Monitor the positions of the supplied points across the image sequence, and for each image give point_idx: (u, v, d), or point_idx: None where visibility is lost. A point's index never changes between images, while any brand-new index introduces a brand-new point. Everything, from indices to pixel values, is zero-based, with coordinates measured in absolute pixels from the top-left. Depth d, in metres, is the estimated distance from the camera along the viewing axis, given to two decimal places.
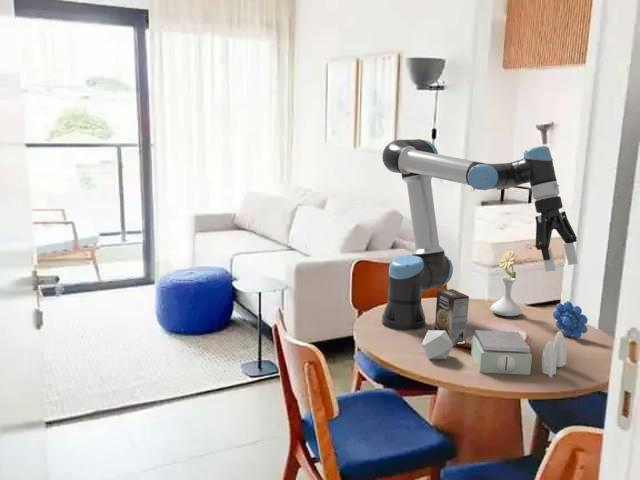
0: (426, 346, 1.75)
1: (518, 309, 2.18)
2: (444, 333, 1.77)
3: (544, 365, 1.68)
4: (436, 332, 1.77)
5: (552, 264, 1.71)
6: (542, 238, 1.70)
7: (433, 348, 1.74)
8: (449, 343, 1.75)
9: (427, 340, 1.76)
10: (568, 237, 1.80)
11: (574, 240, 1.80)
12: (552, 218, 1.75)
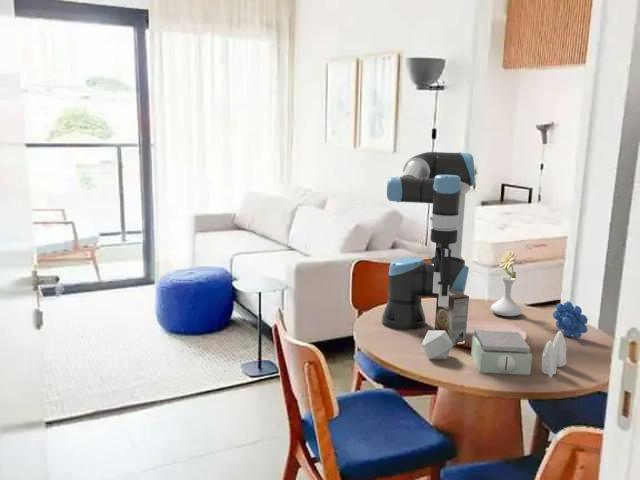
0: (426, 346, 1.75)
1: (518, 309, 2.18)
2: (444, 333, 1.77)
3: (544, 365, 1.68)
4: (437, 332, 1.77)
5: None
6: None
7: (433, 348, 1.74)
8: (449, 343, 1.75)
9: (427, 340, 1.76)
10: None
11: None
12: None
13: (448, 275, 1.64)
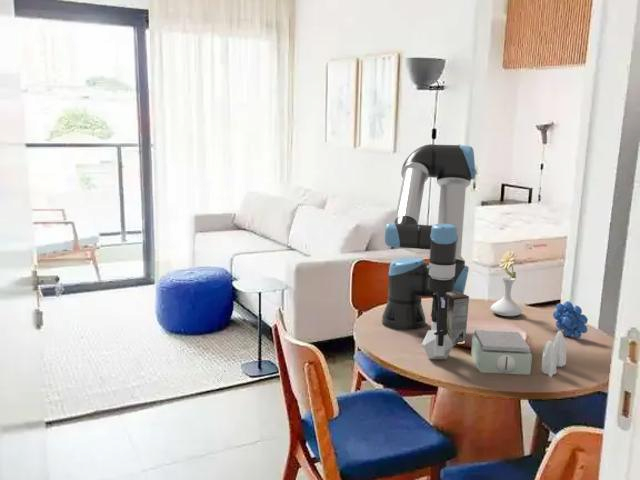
0: (426, 346, 1.75)
1: (518, 309, 2.18)
2: None
3: (544, 365, 1.68)
4: None
5: None
6: None
7: (433, 348, 1.74)
8: (449, 343, 1.75)
9: (427, 340, 1.76)
10: None
11: None
12: None
13: (444, 327, 1.69)
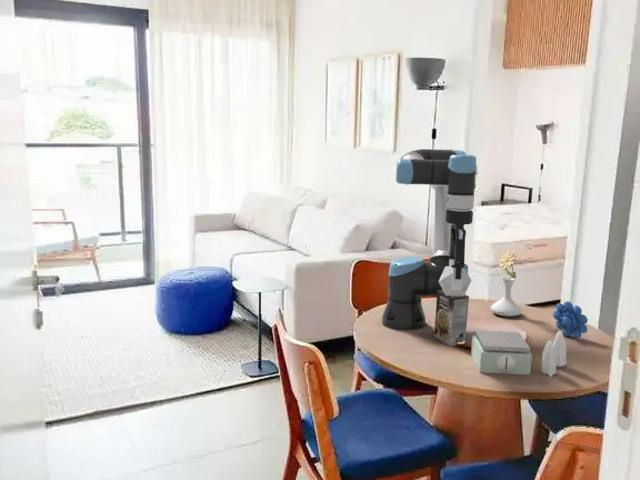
0: (443, 281, 1.70)
1: (518, 309, 2.18)
2: None
3: (544, 365, 1.68)
4: None
5: None
6: None
7: (450, 283, 1.69)
8: (467, 278, 1.70)
9: (444, 275, 1.71)
10: None
11: None
12: None
13: (462, 258, 1.63)
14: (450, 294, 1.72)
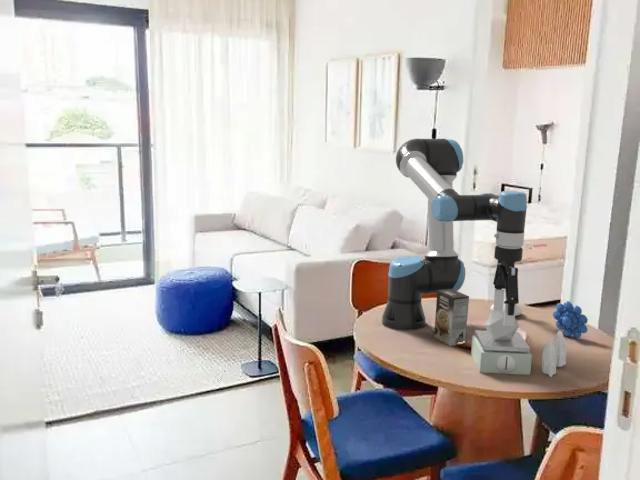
0: (491, 326, 1.70)
1: (518, 309, 2.18)
2: None
3: (544, 365, 1.68)
4: (501, 313, 1.71)
5: None
6: None
7: (499, 329, 1.69)
8: (515, 323, 1.70)
9: (492, 320, 1.71)
10: None
11: None
12: None
13: (515, 294, 1.61)
14: (498, 339, 1.71)
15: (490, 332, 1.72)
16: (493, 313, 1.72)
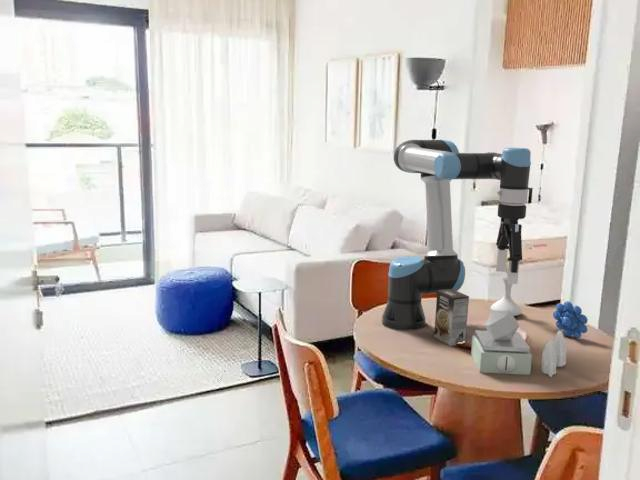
0: (491, 326, 1.70)
1: (518, 309, 2.18)
2: (509, 313, 1.72)
3: (544, 365, 1.68)
4: (502, 313, 1.71)
5: None
6: None
7: (499, 329, 1.69)
8: (515, 323, 1.70)
9: (492, 320, 1.71)
10: None
11: None
12: None
13: (519, 251, 1.59)
14: (498, 339, 1.71)
15: (490, 332, 1.72)
16: (493, 313, 1.72)
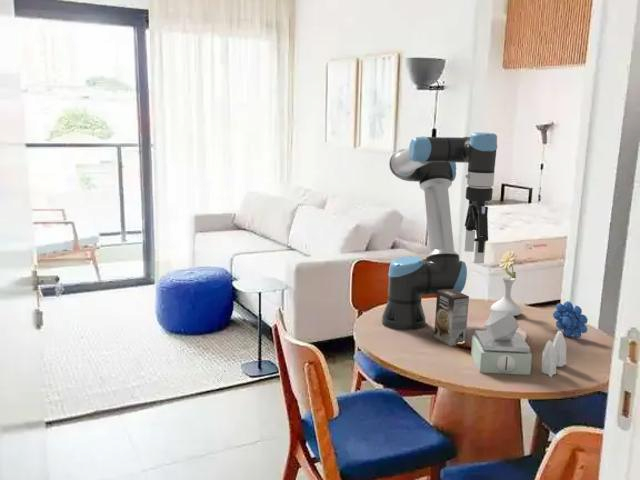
0: (491, 326, 1.70)
1: (518, 309, 2.18)
2: (509, 313, 1.72)
3: (544, 365, 1.68)
4: (501, 313, 1.71)
5: None
6: None
7: (499, 329, 1.69)
8: (515, 323, 1.70)
9: (492, 320, 1.71)
10: None
11: None
12: None
13: (485, 232, 1.66)
14: (498, 339, 1.71)
15: (490, 332, 1.72)
16: (493, 313, 1.72)
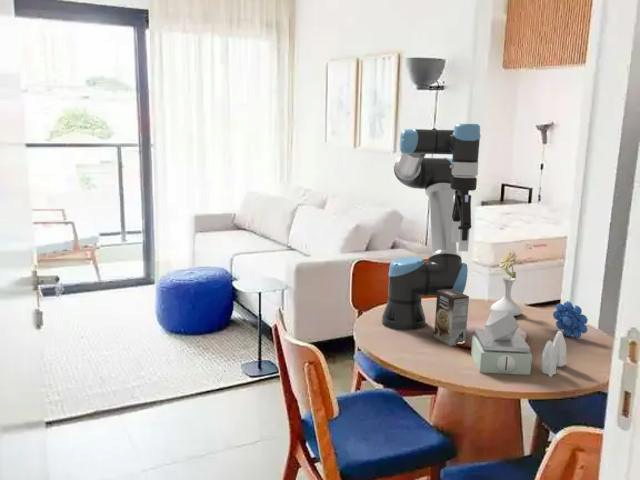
0: (491, 326, 1.70)
1: (518, 309, 2.18)
2: (509, 313, 1.72)
3: (544, 365, 1.68)
4: (501, 313, 1.71)
5: None
6: None
7: (499, 329, 1.69)
8: (515, 323, 1.70)
9: (492, 320, 1.71)
10: None
11: None
12: None
13: (468, 219, 1.69)
14: (498, 339, 1.71)
15: (490, 332, 1.72)
16: (493, 313, 1.72)
